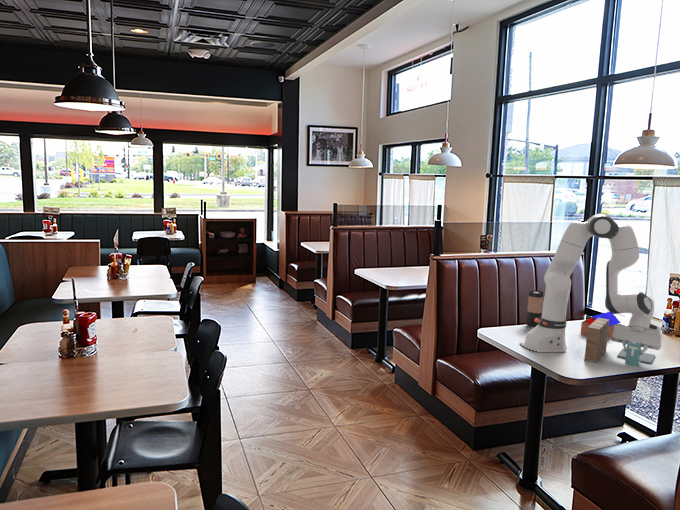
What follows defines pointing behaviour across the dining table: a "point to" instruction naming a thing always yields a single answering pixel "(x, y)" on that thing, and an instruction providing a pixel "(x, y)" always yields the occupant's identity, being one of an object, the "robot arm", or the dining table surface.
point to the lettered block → (633, 353)
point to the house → (607, 315)
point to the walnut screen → (596, 340)
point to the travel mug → (534, 307)
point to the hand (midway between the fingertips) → (633, 352)
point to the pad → (643, 358)
